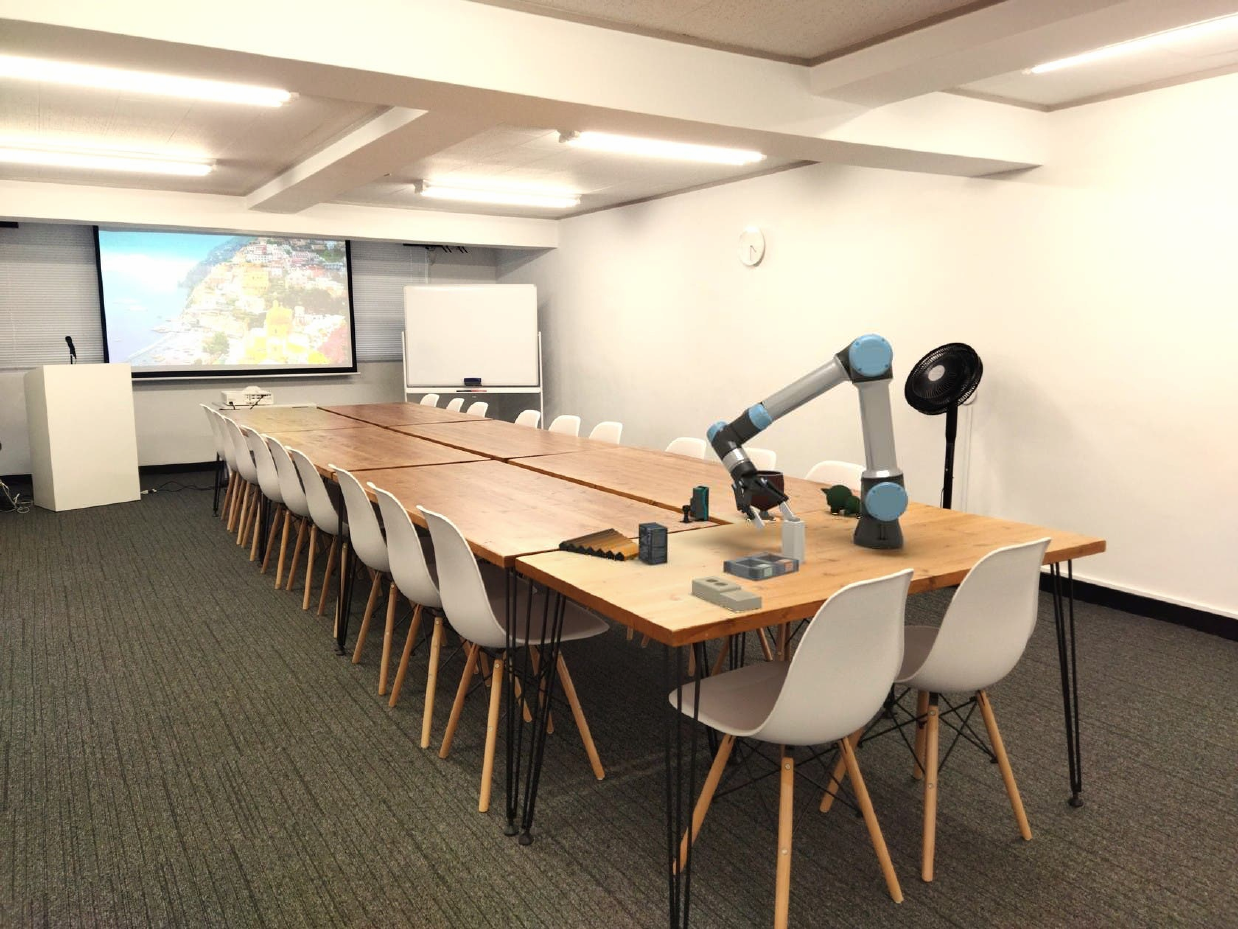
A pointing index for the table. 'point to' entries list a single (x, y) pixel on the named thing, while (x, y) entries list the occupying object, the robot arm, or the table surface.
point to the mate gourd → (764, 502)
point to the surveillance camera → (697, 505)
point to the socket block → (761, 566)
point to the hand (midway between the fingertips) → (777, 525)
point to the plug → (793, 539)
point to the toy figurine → (842, 500)
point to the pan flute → (603, 545)
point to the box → (653, 543)
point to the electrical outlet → (725, 593)
